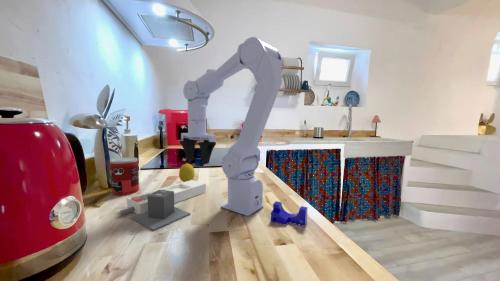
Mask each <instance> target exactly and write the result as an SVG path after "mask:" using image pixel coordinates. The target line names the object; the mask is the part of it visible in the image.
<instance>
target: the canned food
mask: <svg viewBox="0 0 500 281" xmlns="http://www.w3.org/2000/svg"><path fill="white" fill-rule="evenodd" d="M138 160H139V159H138V158H137V157H133V156H132V157H130V156H129V157H128V156H127V157H117V158H112V159H110V160H109V174H110V189H111V193H112V195H114V196H127V195H132V194H134V193H136V192H139V188H140V180H139V179H140V178H139V177H140V176H139V161H138Z"/></svg>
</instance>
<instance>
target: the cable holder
mask: <svg viewBox="0 0 500 281" xmlns="http://www.w3.org/2000/svg"><path fill="white" fill-rule="evenodd" d="M272 208H273V209H272V210H271V211H270V222H272V223H276V222H277V224H280V223H281V225H284V224H286V225H285V226H287V225H288V224H289V222H291V223H290V224H293V223H296V224H295V225H298V224H300V225H299V226H302V225H305V226H306V225H307V223H308V207H307V206H302V205H301V206H300V207H299V208H298V209H299V210H298V212H296V213H290V212H288V211H287V210H285V209H284V207H283V204H282V202H281V201H278V200H277V201H276V200H275V202H273V205H272ZM287 223H288V224H287Z"/></svg>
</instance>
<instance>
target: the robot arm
mask: <svg viewBox="0 0 500 281" xmlns="http://www.w3.org/2000/svg"><path fill="white" fill-rule="evenodd" d="M283 62H284V59H283V57H282V54H281V53H280V51H279V50H278V49H277V48H275V47H274V46H271V45H270V44H268V43H266V42H264V41H262V40H260V39H259V38H258V37H256V36H251V37H248V38H246V39H245V41H243V42H242V43H240V44H239V45H238V46H237V51H236V52H234V54H233V55H231V57H229V58H228V59H227V60H226V61H225V62H224V63H222V64H221V66H219V67H218V68H217V69H214V68H211V69H210V68H208V69H206V72H204V74H202V75H201V76H200V77H198V78H196V80H188V81H187V82H186V83H185V84H184V85H183V96H184V98H185V99H186V100H187V132H181V133H180V138H181V140H179V144H180V145H181V146H182V148H183V151H184V154H185V155H184V156H185V158H186V161H187V162H191V161H194V159H195V147H196V144H197V143H198V146H199V148H200V153H201V162H202V165H208V164H209V163H210V159H211V155H212V152H213V150H214V148H215V146H216V145H217V142H216V135H215V134H214V135H213V134H209V133H207V106H208V102H209V101H208V100H209V98H210V96H211V95H212V94H213V93H214V92H216V91H217V90H220V89H221V88H222V87H223V85H224V83H225V82H224V81H225V80H227V79H229V78H230V77H232V76H234V75H235V74H237V73H239V72H241V71H242V70H244V69H245V70H247V69H248V70H249V71H250V73H252V74H253V77H254V79H255V81H256V84H257V85H256V88H255V90H254V92H253V96H252V99H251V101H250V105H249V107H248V110H247V112H246V115H245V118H244V122H243V125H242V127H241V130H240V134H239V136H238V138H237V140H236V141H235V143H233V144H232V145H231V146H230V147H229V148H228V150H227V151H228V152H227V153H226V154H225V155H224V156H223V158H222V161H221V169H222V171H223V173H224V175H225V177H226V178H227V202H225V203H223V204H221V205H220V208H224V209H225V210H229V211H232V212H235V213H237V214H239V215H243V216H246V217H248V216H250V215H252V214H253V213H255V212H257V211H259V210H260V209H262V208H264V205H265V204H263V193H264V192H263V190H264V189H263V188H264V187H263V186H264V185H263V182H262V181H261V180H260V179H258V178H256V177H255V176H254V175H255V172H256V170H257V169H258V167H259V164H260V160H259V156H260V154H261V151H260V149H259V147H258V146H259V143H260V140H261V138H262V135H263V132H264V130H265V128H266V125H267V122H268V120H269V117H270V115H271V112H272V109H273V106H274V104H275V101H276V99H277V97H278V93H279V91H280V88H281V86H282V82H283V81H282V79H283V78H282V64H283ZM197 141H198V142H197Z"/></svg>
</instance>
